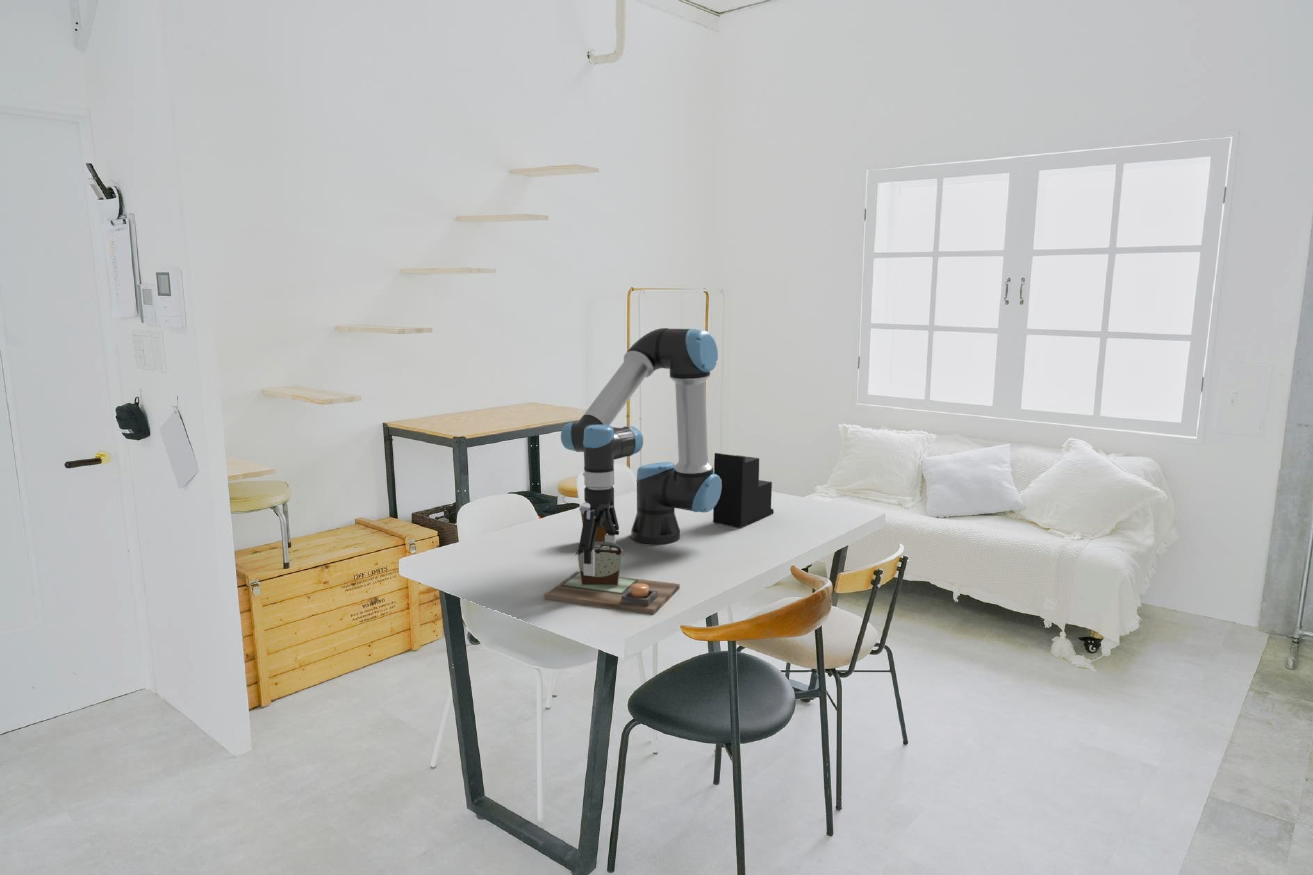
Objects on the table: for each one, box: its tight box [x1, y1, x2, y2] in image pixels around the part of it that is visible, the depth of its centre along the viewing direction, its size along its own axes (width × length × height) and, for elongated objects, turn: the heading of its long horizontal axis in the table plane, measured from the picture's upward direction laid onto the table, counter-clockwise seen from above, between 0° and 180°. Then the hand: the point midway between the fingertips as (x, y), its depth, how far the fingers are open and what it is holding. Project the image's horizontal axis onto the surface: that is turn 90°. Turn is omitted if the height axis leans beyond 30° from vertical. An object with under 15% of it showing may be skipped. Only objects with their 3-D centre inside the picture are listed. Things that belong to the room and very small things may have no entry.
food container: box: [574, 542, 625, 586], centre depth 225 cm, size 12×6×10 cm, turn 89°
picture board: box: [544, 570, 681, 615], centre depth 221 cm, size 19×29×3 cm, turn 70°
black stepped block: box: [712, 452, 775, 528], centre depth 291 cm, size 23×11×24 cm, turn 145°
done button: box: [631, 583, 649, 597], centre depth 213 cm, size 4×4×2 cm
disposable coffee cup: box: [578, 501, 608, 542], centre depth 263 cm, size 10×10×12 cm
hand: (600, 567), depth 225 cm, fingers open, 13 cm apart
